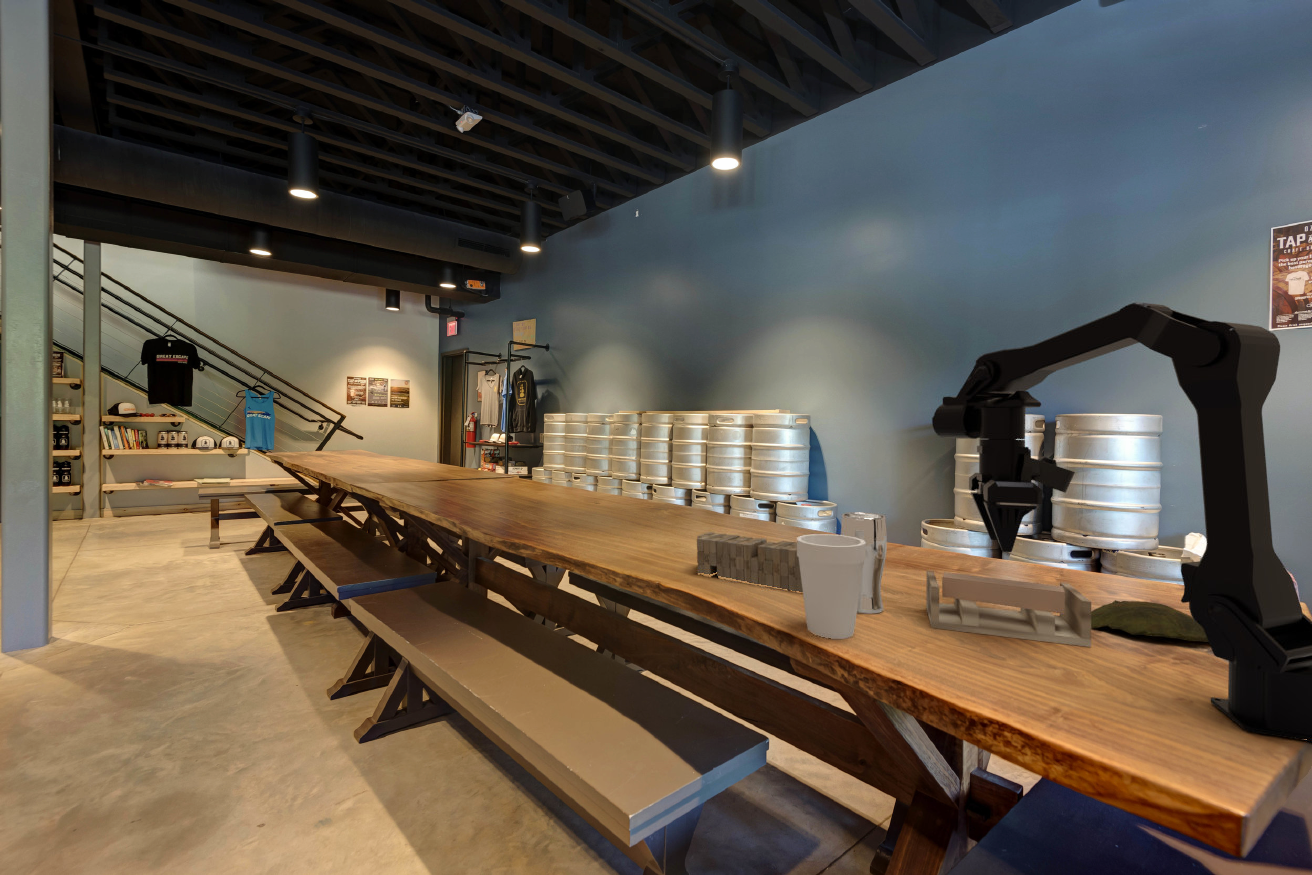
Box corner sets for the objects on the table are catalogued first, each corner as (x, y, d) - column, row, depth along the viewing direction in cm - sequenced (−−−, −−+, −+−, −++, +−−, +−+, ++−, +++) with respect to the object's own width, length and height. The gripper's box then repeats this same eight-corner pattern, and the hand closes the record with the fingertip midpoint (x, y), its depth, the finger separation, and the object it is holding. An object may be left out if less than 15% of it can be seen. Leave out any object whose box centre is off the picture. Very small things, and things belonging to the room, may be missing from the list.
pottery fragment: (1190, 659, 71) (1190, 627, 71) (1067, 624, 83) (1067, 597, 83) (1235, 642, 77) (1235, 612, 77) (1114, 612, 89) (1114, 586, 89)
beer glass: (836, 610, 89) (837, 516, 88) (844, 599, 95) (844, 511, 95) (883, 617, 85) (884, 519, 85) (888, 605, 92) (888, 514, 91)
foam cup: (813, 615, 86) (813, 531, 86) (874, 629, 80) (874, 539, 80) (785, 632, 79) (785, 541, 79) (850, 648, 73) (850, 549, 73)
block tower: (691, 579, 111) (837, 600, 94) (689, 537, 111) (835, 551, 94) (710, 571, 118) (851, 590, 101) (709, 531, 118) (849, 543, 101)
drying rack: (1090, 646, 74) (1091, 601, 74) (931, 627, 81) (931, 586, 81) (1067, 623, 83) (1068, 582, 83) (926, 607, 90) (926, 570, 90)
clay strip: (1062, 607, 79) (1062, 586, 79) (1064, 614, 76) (1064, 592, 76) (944, 591, 87) (944, 572, 87) (942, 596, 84) (942, 576, 84)
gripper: (1090, 441, 70) (1089, 564, 70) (1049, 439, 87) (1048, 538, 88) (988, 440, 74) (987, 556, 74) (968, 438, 92) (967, 533, 92)
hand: (1000, 545), depth 82 cm, fingers open, 9 cm apart
